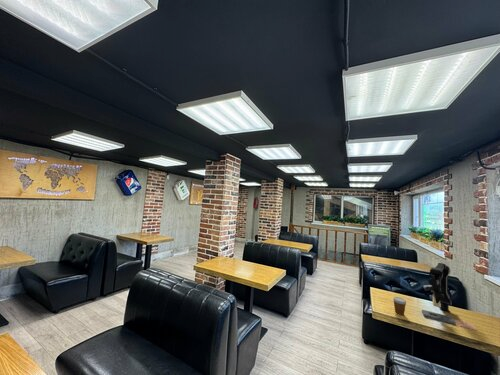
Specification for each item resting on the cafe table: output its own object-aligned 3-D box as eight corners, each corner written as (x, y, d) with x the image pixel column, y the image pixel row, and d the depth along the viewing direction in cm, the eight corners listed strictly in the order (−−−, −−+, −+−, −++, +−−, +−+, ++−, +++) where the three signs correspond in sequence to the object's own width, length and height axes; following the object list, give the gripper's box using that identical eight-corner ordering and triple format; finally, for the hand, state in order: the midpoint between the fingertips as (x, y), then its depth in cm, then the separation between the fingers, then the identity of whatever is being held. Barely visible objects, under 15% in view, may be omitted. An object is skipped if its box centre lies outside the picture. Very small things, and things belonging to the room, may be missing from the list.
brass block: (432, 304, 179) (432, 294, 180) (438, 305, 177) (438, 296, 178) (433, 306, 176) (433, 296, 176) (440, 307, 174) (439, 297, 174)
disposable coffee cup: (400, 317, 173) (400, 302, 174) (390, 311, 182) (390, 297, 183) (409, 316, 176) (409, 301, 176) (398, 310, 185) (398, 296, 186)
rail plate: (421, 311, 184) (421, 309, 184) (451, 319, 174) (451, 316, 174) (424, 316, 176) (424, 314, 176) (456, 325, 166) (455, 322, 166)
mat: (454, 320, 173) (454, 319, 173) (471, 324, 168) (471, 323, 168) (459, 325, 165) (459, 325, 165) (477, 330, 160) (477, 329, 160)
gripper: (422, 278, 190) (422, 295, 189) (426, 284, 174) (426, 303, 173) (437, 281, 184) (438, 299, 183) (444, 288, 168) (444, 307, 167)
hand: (436, 302), depth 176 cm, fingers closed on brass block, 4 cm apart
